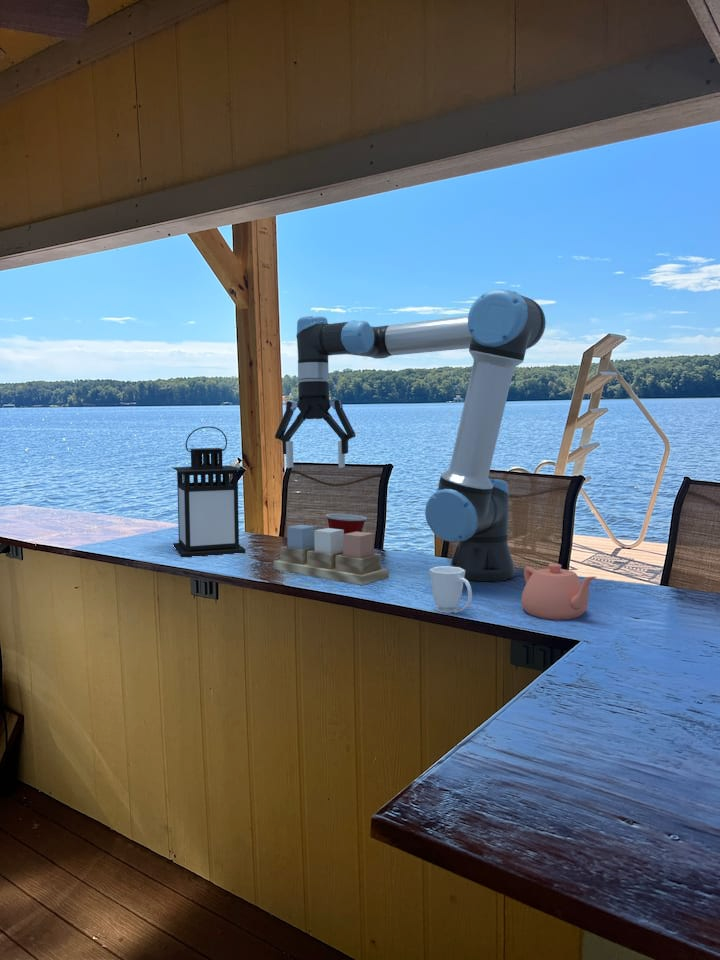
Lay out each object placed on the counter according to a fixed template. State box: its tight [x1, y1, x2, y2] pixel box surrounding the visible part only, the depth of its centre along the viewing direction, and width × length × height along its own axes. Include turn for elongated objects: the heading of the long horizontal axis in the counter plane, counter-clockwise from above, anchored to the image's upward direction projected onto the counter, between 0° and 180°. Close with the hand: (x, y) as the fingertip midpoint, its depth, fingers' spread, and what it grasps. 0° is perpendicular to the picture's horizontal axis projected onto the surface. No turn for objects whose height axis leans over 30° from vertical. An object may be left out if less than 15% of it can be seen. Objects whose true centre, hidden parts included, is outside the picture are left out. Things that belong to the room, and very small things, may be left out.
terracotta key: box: [343, 531, 375, 559], centre depth 172 cm, size 5×5×6 cm
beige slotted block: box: [272, 545, 389, 586], centre depth 178 cm, size 28×10×6 cm, turn 52°
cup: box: [428, 565, 473, 614], centre depth 143 cm, size 7×10×8 cm
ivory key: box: [314, 527, 344, 554], centre depth 177 cm, size 5×5×6 cm
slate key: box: [286, 524, 317, 550], centre depth 183 cm, size 5×5×6 cm
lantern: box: [170, 426, 246, 558], centre depth 207 cm, size 17×17×35 cm
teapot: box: [520, 563, 597, 621], centre depth 141 cm, size 12×18×10 cm
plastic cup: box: [325, 513, 368, 534], centre depth 193 cm, size 11×11×12 cm
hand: (315, 467), depth 182 cm, fingers open, 13 cm apart
